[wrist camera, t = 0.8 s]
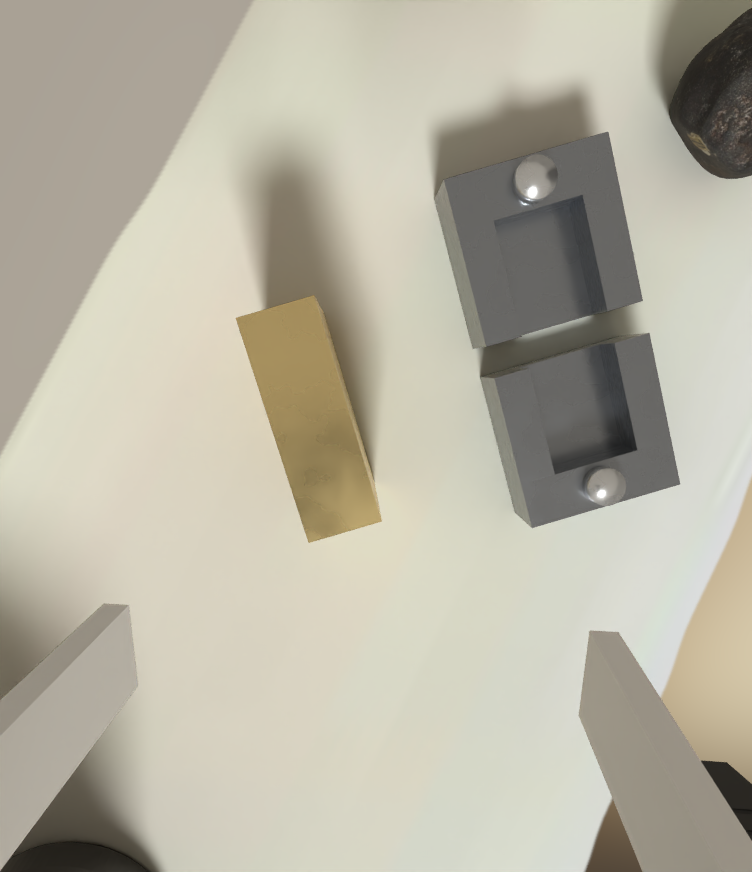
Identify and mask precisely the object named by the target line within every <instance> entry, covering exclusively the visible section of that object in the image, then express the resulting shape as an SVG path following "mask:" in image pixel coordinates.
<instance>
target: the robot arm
mask: <svg viewBox="0 0 752 872" xmlns="http://www.w3.org/2000/svg"><path fill="white" fill-rule="evenodd" d="M137 687H138V681H137V672H136V663H135V654H134V646H133V637H132V628H131V619H130V610H129V605H119V604H103V605H102V606H101V607H100V608H99V609H97V610H96V611H95V612H94V613H93V614H92V615H91V616H90V617H89V618H88V619H87V620H86V621H85V622H84V623H82V624H81V625H80V626H79V627H78V628H77V629H76V630H75V631H74V632H73V633H72V634H71V635H70V636H68V637H67V638H66V639H65V640H64V641H63V642H62V643H61V644H60V645H59V646H58V647H57V648H56V649H55V650H53V651H52V652H51V653H50V654H49V655H48V656H47V657H46V658H45V659H44V660H43V661H42V662H41V663H40V664H38V665H37V666H36V667H35V668H34V669H33V670H32V671H31V672H30V673H29V674H28V675H27V676H26V677H24V678H23V679H22V680H21V681H20V682H19V683H18V684H17V685H16V686H15V687H14V688H13V689H12V690H11V691H9V692H8V693H7V694H6V695H5V696H4V697H3V698H2V699H1V700H0V872H147V871H146V870H145V869H144V868H143V867H141V866H140V865H139V864H137V863H136V862H135V861H133V860H131V859H130V858H128V857H126V856H124V855H122V854H120V853H118V852H116V851H113V850H111V849H108V848H105V847H101V846H97V845H92V844H85V843H56V844H49V845H44V846H40V847H36V848H33V849H30V850H28V851H25V852H23V853H21V854H19V855H17V856H15V857H13V858H12V859H10V857H11V856H12V854H13V853H14V852H15V850H16V849H17V848H18V846H19V845H20V844H21V842H22V841H23V840H24V838H25V837H26V836H27V834H28V833H29V832H30V830H31V829H32V828H33V826H34V825H35V824H36V822H37V821H38V820H39V818H40V817H41V816H42V814H43V813H44V811H45V810H46V809H47V807H48V806H49V805H50V803H51V802H52V801H53V799H54V798H55V797H56V795H57V794H58V793H59V791H60V790H61V789H62V787H63V786H64V785H65V783H66V782H67V781H68V779H69V778H70V777H71V775H72V774H73V773H74V771H75V770H76V768H77V767H78V766H79V764H80V763H81V762H82V760H83V759H84V758H85V756H86V755H87V754H88V752H89V751H90V750H91V748H92V747H93V746H94V744H95V743H96V742H97V740H98V739H99V738H100V736H101V735H102V734H103V732H104V731H105V730H106V728H107V727H108V725H109V724H110V723H111V721H112V720H113V719H114V717H115V716H116V715H117V713H118V712H119V711H120V709H121V708H122V707H123V705H124V704H125V703H126V701H127V700H128V699H129V697H130V696H131V695H132V693H133V692H134V691H135V689H136V688H137ZM579 717H580V719H581V722H582V724H583V727H584V729H585V732H586V734H587V737H588V739H589V741H590V744H591V746H592V749H593V751H594V754H595V756H596V759H597V761H598V763H599V766H600V768H601V771H602V773H603V776H604V778H605V781H606V783H607V785H608V788H609V790H610V793H611V795H612V798H613V800H614V803H615V805H616V807H617V810H618V812H619V815H620V817H621V820H622V822H623V825H624V827H625V829H626V832H627V834H628V837H629V839H630V842H631V844H632V847H633V849H634V851H635V854H636V856H637V859H638V861H639V864H640V866H641V869H642V871H643V872H752V784H751V783H750V782H749V781H747V780H746V779H745V778H744V777H743V776H742V775H740V774H739V773H738V772H737V771H736V770H735V769H734V768H732V767H731V766H730V765H729V764H728V763H727V762H713V761H700V759H699V758H698V756H697V754H696V753H695V751H694V750H693V748H692V747H691V745H690V744H689V742H688V740H687V739H686V737H685V736H684V734H683V733H682V731H681V729H680V728H679V726H678V725H677V723H676V722H675V720H674V718H673V717H672V716H671V714H670V712H669V711H668V709H667V708H666V706H665V704H664V703H663V701H662V700H661V698H660V697H659V695H658V693H657V692H656V690H655V689H654V687H653V686H652V684H651V683H650V681H649V679H648V678H647V676H646V675H645V673H644V672H643V670H642V668H641V667H640V665H639V664H638V662H637V661H636V659H635V657H634V656H633V654H632V653H631V651H630V650H629V648H628V647H627V645H626V643H625V642H624V640H623V639H622V637H621V636H620V634H619V632H605V631H589V639H588V647H587V655H586V663H585V671H584V678H583V686H582V694H581V702H580V710H579ZM9 859H10V860H9Z"/></svg>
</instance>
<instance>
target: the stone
mask: <svg viewBox="0 0 752 872" xmlns="http://www.w3.org/2000/svg"><path fill="white" fill-rule="evenodd" d="M670 119H671V122H672V124H673V126H674V127H675V129H676V131H677V132H678V134H679V136H680V137H681V139H682V140H683V142H684V144H685V145H686V147H687V148H688V150H689V151H690V153H691V154H692V156H693V157H694V158H695V159H696V161H697V162H698V163H699V164H700V165H701V166H702V167H703V168H704V169H705V170H707V171H708V172H710V173H711V174H713V175H716V176H718V177H721V178H726V179H737V178H743V177H747V176H751V175H752V8H751V9H749V10H748V11H746V12H745V13H743V14H742V15H741V16H740V17H738V18H737V19H736V20H735V21H734V22H733V23H732V24H731V25H730V26H729V27H728V28H727V29H725V30H724V31H723V32H722V33H721V34H720V35H718V36H717V37H715V38H714V39H713V40H712V41H711V42H710V43H709V44H707V45H706V46H705V47H704V48H703V49H702V50H701V51H700V52H699V53H698V54H697V55H696V56H695V58H694V59H693V60H692V61H691V63H690V64H689V66H688V67H687V69H686V71H685V72H684V74H683V76H682V78H681V80H680V83H679V85H678V87H677V90H676V92H675V95H674V97H673V100H672V104H671V107H670Z"/></svg>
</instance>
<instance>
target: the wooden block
mask: <svg viewBox="0 0 752 872" xmlns="http://www.w3.org/2000/svg"><path fill="white" fill-rule="evenodd" d="M236 320H237V323H238V326H239V329H240V333H241V336H242V339H243V342H244V345H245V348H246V351H247V354H248V357H249V360H250V363H251V367H252V370H253V373H254V376H255V379H256V382H257V385H258V388H259V391H260V394H261V397H262V400H263V404H264V407H265V410H266V413H267V416H268V419H269V422H270V425H271V428H272V431H273V434H274V437H275V441H276V444H277V447H278V450H279V453H280V456H281V459H282V462H283V465H284V468H285V471H286V474H287V478H288V481H289V484H290V487H291V490H292V493H293V496H294V499H295V502H296V505H297V508H298V511H299V515H300V518H301V521H302V524H303V527H304V530H305V533H306V536H307V539H308V542H309V543H310V542H313V541H317V540H320V539H324V538H327V537H330V536H334V535H337V534H341V533H344V532H347V531H351V530H354V529H357V528H361V527H364V526H368V525H371V524H374V523H378V522H381V521H382V520H381V514H380V509H379V504H378V498H377V493H376V488H375V483H374V479H373V476H372V472H371V469H370V466H369V462H368V459H367V456H366V452H365V449H364V446H363V442H362V439H361V435H360V432H359V429H358V425H357V422H356V419H355V415H354V412H353V409H352V405H351V402H350V399H349V395H348V392H347V388H346V385H345V382H344V378H343V375H342V372H341V368H340V365H339V362H338V358H337V355H336V352H335V348H334V345H333V341H332V338H331V335H330V331H329V328H328V325H327V321H326V318H325V315H324V312H323V310H322V309H321V307H320V305H319V303H318V301H317V299H316V298H315V296H314V295H313V296H310V297H306V298H303V299H299V300H296V301H292V302H289V303H286V304H282V305H279V306H275V307H272V308H269V309H265V310H262V311H258V312H255V313H251V314H248V315H245V316H241V317H238V318H236Z"/></svg>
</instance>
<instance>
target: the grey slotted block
mask: <svg viewBox="0 0 752 872" xmlns="http://www.w3.org/2000/svg"><path fill="white" fill-rule="evenodd" d="M434 200H435V204H436V207H437V211H438V215H439V219H440V223H441V227H442V231H443V235H444V239H445V242H446V246H447V250H448V254H449V258H450V262H451V266H452V270H453V274H454V277H455V281H456V285H457V289H458V293H459V297H460V301H461V305H462V309H463V312H464V316H465V320H466V324H467V328H468V332H469V336H470V340H471V344H472V347H473V349H474V348H481V347H487V346H491V345H494V344H498V343H501V342H504V341H508V340H511V339H515V338H518V337H522V336H521V335H524V334H527V333H531V332H534V331H538V330H541V329H544V328H548V327H551V326H555V325H558V324H562V323H565V322H568V321H572V320H575V319H579V318H582V317H585V316H589V315H592V314H597V313H602V312H606V311H610V310H614V309H617V308H620V307H624V306H627V305H631V304H634V303H637V302H641V301H643V299H642V295H641V290H640V285H639V280H638V275H637V270H636V265H635V260H634V255H633V250H632V245H631V241H630V236H629V231H628V226H627V221H626V216H625V211H624V206H623V201H622V196H621V192H620V187H619V182H618V177H617V172H616V167H615V162H614V157H613V152H612V147H611V142H610V138H609V133H608V132H605V133H601V134H598V135H595V136H591V137H588V138H584V139H581V140H577V141H574V142H571V143H567V144H564V145H560V146H557V147H553V148H550V149H547V150H543V151H540V152H536V153H533V154H529V155H526V156H523V157H519V158H516V159H512V160H509V161H505V162H502V163H499V164H495V165H492V166H488V167H485V168H481V169H478V170H475V171H471V172H468V173H464V174H461V175H457V176H454V177H451V178H447V179H444V180H443V182H442V184H441V186H440V188H439V190H438V193H437V195H436V197H435V199H434ZM480 379H481V382H482V386H483V390H484V394H485V398H486V402H487V406H488V410H489V414H490V418H491V421H492V425H493V429H494V433H495V437H496V441H497V445H498V449H499V453H500V456H501V460H502V464H503V468H504V472H505V476H506V480H507V484H508V488H509V491H510V495H511V499H512V503H513V507H514V511H515V513H516V514H517V515H518V516H519V517H521V518H522V519H523V520H524V521H525V522H526V523H527V524H528V525H529V526H530V527H532V528H534V527H537V526H541V525H544V524H547V523H551V522H554V521H557V520H561V519H564V518H568V517H571V516H574V515H578V514H581V513H585V512H588V511H591V510H595V509H598V508H601V507H605V506H610V505H613V504H615V503H618V502H622V501H625V500H629V499H632V498H635V497H639V496H642V495H645V494H649V493H652V492H656V491H659V490H662V489H666V488H669V487H673V486H676V485H679V484H680V481H679V476H678V471H677V466H676V461H675V456H674V452H673V447H672V442H671V437H670V432H669V427H668V422H667V417H666V412H665V407H664V403H663V398H662V393H661V388H660V383H659V378H658V373H657V368H656V363H655V358H654V353H653V349H652V344H651V339H650V334H649V333H644V334H634V335H625V336H618V337H615V338H612V339H608V340H605V341H601V342H598V343H595V344H591V345H588V346H584V347H581V348H578V349H574V350H571V351H567V352H564V353H560V354H557V355H554V356H550V357H547V358H543V359H540V360H537V361H533V362H530V363H526V364H523V365H520V366H516V367H513V368H509V369H506V370H503V371H499V372H496V373H492V374H489V375H486V376H482V377H480Z"/></svg>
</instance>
